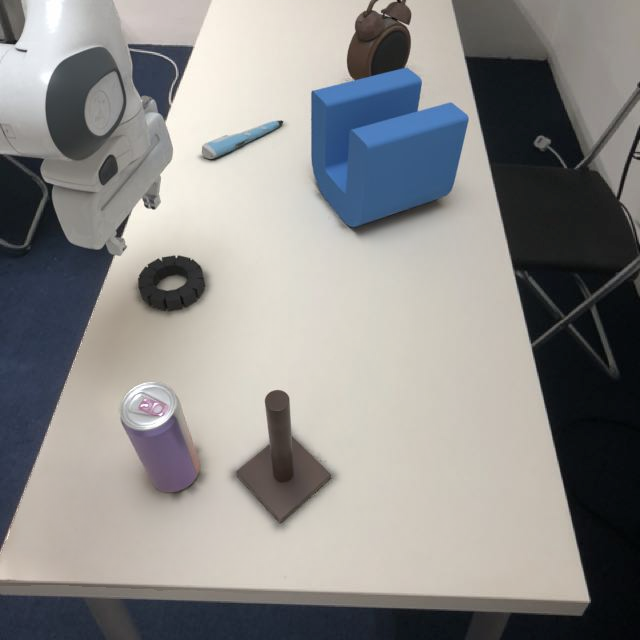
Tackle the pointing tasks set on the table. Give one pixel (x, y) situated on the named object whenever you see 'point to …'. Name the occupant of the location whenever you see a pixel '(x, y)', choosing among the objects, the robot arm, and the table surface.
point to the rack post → (282, 464)
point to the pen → (236, 140)
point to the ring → (177, 296)
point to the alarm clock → (380, 41)
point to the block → (383, 146)
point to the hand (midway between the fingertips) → (136, 227)
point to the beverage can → (160, 435)
